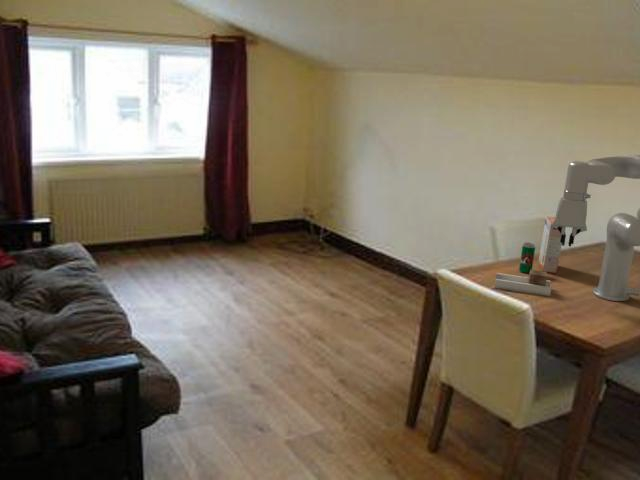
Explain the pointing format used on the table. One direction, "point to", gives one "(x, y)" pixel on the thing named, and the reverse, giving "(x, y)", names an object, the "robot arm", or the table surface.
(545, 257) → the cracker box
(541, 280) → the walnut block
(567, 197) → the robot arm
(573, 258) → the table surface
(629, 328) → the table surface
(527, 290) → the chute
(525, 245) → the soda can
